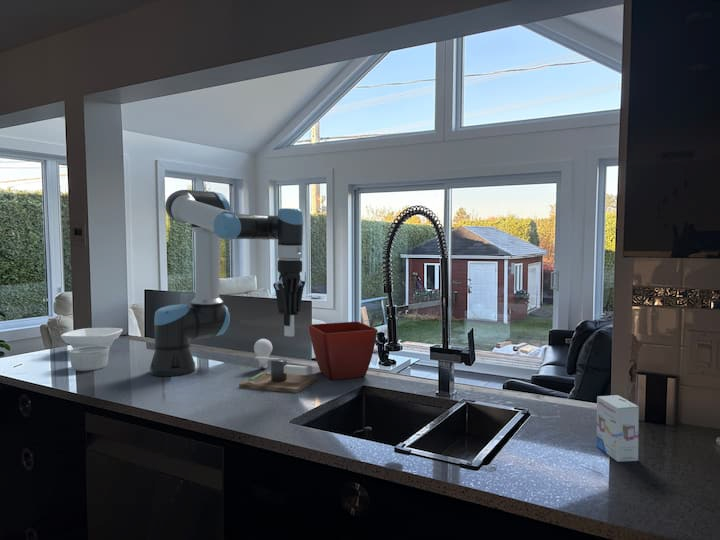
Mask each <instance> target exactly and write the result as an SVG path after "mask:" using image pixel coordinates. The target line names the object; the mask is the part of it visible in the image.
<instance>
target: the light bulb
mask: <svg viewBox="0 0 720 540" xmlns="http://www.w3.org/2000/svg"><path fill="white" fill-rule="evenodd" d="M253 351H254V354H255V355H256V357H267V358H270V355H271V354H272V352H273V345H272V342H271V341H270V340H269V339H266V338H260V339H258V340H257V341H255V343H254V346H253ZM257 360H258V363H259V365H258V367H259V368H260V369H261V370H262V369H263V370H264V369H266V368H268V362H269V360H261V359H257Z"/></svg>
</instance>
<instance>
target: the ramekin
mask: <svg viewBox="0 0 720 540" xmlns="http://www.w3.org/2000/svg"><path fill="white" fill-rule="evenodd" d="M109 352H110V348H109V347H108V346H86V347H79V348H75V349H73V348H72V349H70V350H69V351H68V355H69V360H70V365H71V368H72V370H74V371H78V372H89V371H96V370H100V369H103V368H106V366H107V365H108V363H109V362H108V361H109Z"/></svg>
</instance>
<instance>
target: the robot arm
mask: <svg viewBox="0 0 720 540" xmlns="http://www.w3.org/2000/svg"><path fill="white" fill-rule="evenodd" d="M164 207H165V211H166V214H167V215H168V217H169V218H170V219H171V220H174V221H175V222H178V223H181V224H187V223H188V224H189V223H190V227H191V229H192V231H194V232H195V260H194V261H195V268H194V269H195V271H194V272H195V275H194V276H195V277H194V279H195V280H194V282H195V283H194V284H195V285H194V286H195V287H194V288H195V295H194V296H195V297H194V298H193V299H192V300H191V301H190V305H188V304H186V303H180V304H178V303H177V304H171V305H166V306H164V307H163V306H162V307H160V308H158V309H157V310H156V311H155V313H154V320H153V321H154V322H153V324H154V354H153V357H152V360H151V364H150V367H149V374H150V375H151V376H156V377H177V376H183V375H188V374H191V373H194V372H195V371H196V362H195V359H194V357H193V354H192V352H191V348H190V346H191V345H190V343H191V341H192V340H196V339H203V338H204V339H205V338H213V337H216V336H217V337H218V336H221V335H223V334H224V333H225V332H226V331H227V330H228V328H229V325H230V321H231V320H230V319H231V315H230V311H229V308H228V306H226V305H225V304H224V300H223V299H222V298H221V297H220V263H221V261H220V258H221V257H220V250H221V249H220V248H221V247H220V244H221V243H220V242H221V241H220V239H225V240H230V241H231V240H264V241H265V240H266V241H267V240H268V241H269V240H277V258H278V259H279V260H277V272H278V273H279V276H278V277H279V278H278V281H277V282H276V283H275V282H274V283H273V285H272V286H273V289H274V290H275V295H276V297H275V298H276V303H277V309H278V314H280V315H283V326H284V327H283V328H284V329H283V331H284V334H283V335H284V337H291V338H292V337H295V325H296V316H297V315H299V312H300V311H301V305H302V298H303V291H304V287H305V286H306V281H305V280H302V279H301V275H300V274H301V273H302V272H303V261H302V260H301V259H303V240H304V239H303V237H304V236H303V235H304V234H303V233H304V226H303V225H304V219H303V216H304V215H303V211H302V210H301V209H300V208H289V207H288V208H279V209H278V211H277V215H263V214H262V215H261V214H243V213H242V214H241V213H235V212H232V210H231V204H230V201H229V200H228V198H227V196H225V195H224V194H223V193H221V192H216V191H205V190H193V189H191V190H190V189H179V190H176V191H174V192H172V193H171V194H170V195H169V196H168V197H167V198H166V201H165V205H164ZM190 340H191V341H190Z"/></svg>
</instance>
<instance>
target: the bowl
mask: <svg viewBox="0 0 720 540" xmlns="http://www.w3.org/2000/svg"><path fill="white" fill-rule="evenodd" d="M122 332H123V328H119V327H88V328H87V327H86V328H79V329H75V330H70V331H67V332H63V334H61V335H60V338H61V339H62V340H63V341H64V343H65V344H69V345H70V347H71V348H72V349H75V348H79V347H86V346H108V347H109V349H110V348H111V346H112V345H113V343H114V341H115V340H117V339H119V337H120V335H121V334H122Z"/></svg>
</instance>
